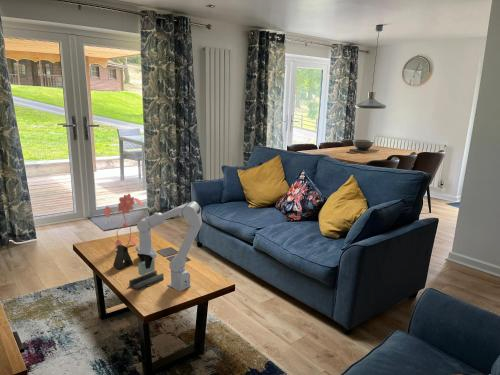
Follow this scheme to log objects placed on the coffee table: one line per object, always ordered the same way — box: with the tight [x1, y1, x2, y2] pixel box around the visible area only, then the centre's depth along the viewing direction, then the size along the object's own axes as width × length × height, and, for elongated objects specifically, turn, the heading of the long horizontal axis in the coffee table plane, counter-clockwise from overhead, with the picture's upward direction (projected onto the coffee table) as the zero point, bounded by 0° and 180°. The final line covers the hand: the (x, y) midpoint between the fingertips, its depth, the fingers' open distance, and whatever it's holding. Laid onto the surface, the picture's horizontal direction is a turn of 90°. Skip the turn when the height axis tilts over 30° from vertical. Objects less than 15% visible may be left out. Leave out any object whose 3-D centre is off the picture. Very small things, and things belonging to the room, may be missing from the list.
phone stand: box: [112, 244, 134, 271], centre depth 210 cm, size 9×6×12 cm, turn 141°
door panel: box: [137, 258, 156, 276], centre depth 191 cm, size 2×8×6 cm, turn 141°
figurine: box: [103, 193, 145, 253], centre depth 231 cm, size 15×26×35 cm, turn 145°
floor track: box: [128, 269, 165, 291], centre depth 193 cm, size 7×16×3 cm, turn 141°
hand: (146, 267), depth 191 cm, fingers closed on door panel, 2 cm apart
